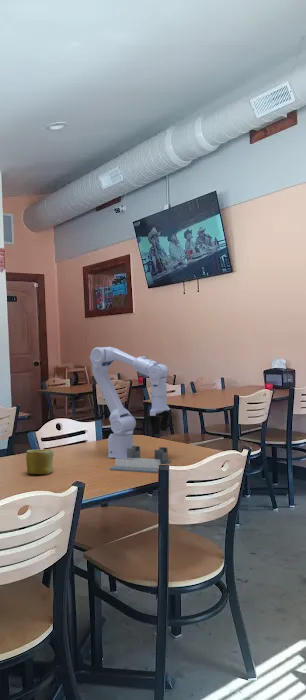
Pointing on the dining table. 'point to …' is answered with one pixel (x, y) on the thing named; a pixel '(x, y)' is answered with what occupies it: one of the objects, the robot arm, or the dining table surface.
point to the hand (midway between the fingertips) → (160, 432)
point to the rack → (159, 454)
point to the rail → (137, 463)
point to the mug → (39, 461)
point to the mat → (134, 469)
